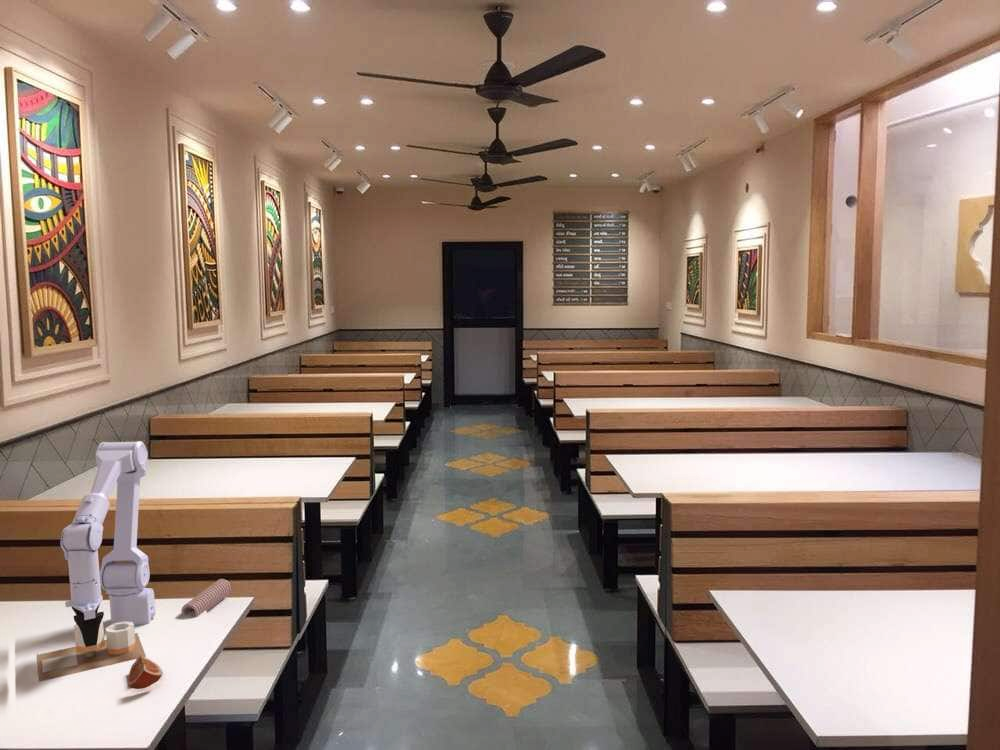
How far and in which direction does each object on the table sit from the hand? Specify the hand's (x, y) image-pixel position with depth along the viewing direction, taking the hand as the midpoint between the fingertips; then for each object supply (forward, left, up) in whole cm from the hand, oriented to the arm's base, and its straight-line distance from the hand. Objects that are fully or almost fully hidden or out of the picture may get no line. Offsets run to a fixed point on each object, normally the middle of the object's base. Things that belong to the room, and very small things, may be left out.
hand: (89, 640), depth 175 cm
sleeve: (0, 0, -1) cm, 1 cm away
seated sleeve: (-5, -2, -3) cm, 7 cm away
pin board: (0, 0, -5) cm, 5 cm away
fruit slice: (-14, +13, -5) cm, 20 cm away
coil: (-19, -26, -6) cm, 33 cm away
